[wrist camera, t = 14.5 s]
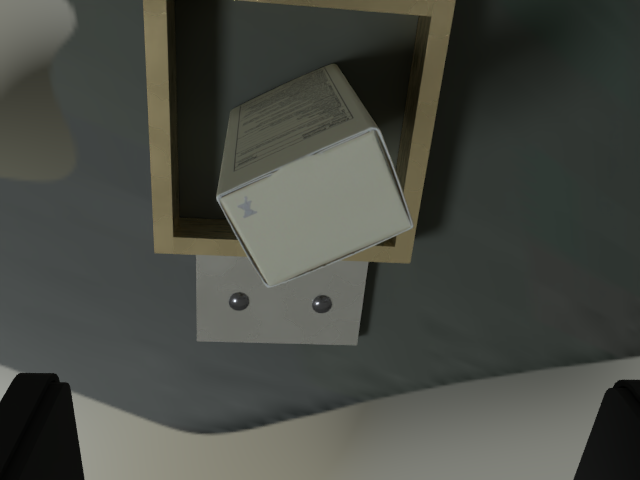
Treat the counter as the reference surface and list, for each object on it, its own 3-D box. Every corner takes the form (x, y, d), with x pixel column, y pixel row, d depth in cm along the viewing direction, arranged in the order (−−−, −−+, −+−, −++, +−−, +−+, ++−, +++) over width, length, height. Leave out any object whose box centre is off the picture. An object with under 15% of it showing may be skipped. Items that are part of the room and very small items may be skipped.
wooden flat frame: (470, -182, 26) (489, -192, 24) (385, 338, 39) (392, 363, 37) (145, -220, 25) (132, -235, 23) (165, 332, 37) (159, 357, 35)
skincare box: (263, 178, 33) (259, 297, 22) (228, 107, 31) (204, 200, 21) (370, 132, 33) (420, 232, 22) (341, 57, 31) (378, 125, 20)
